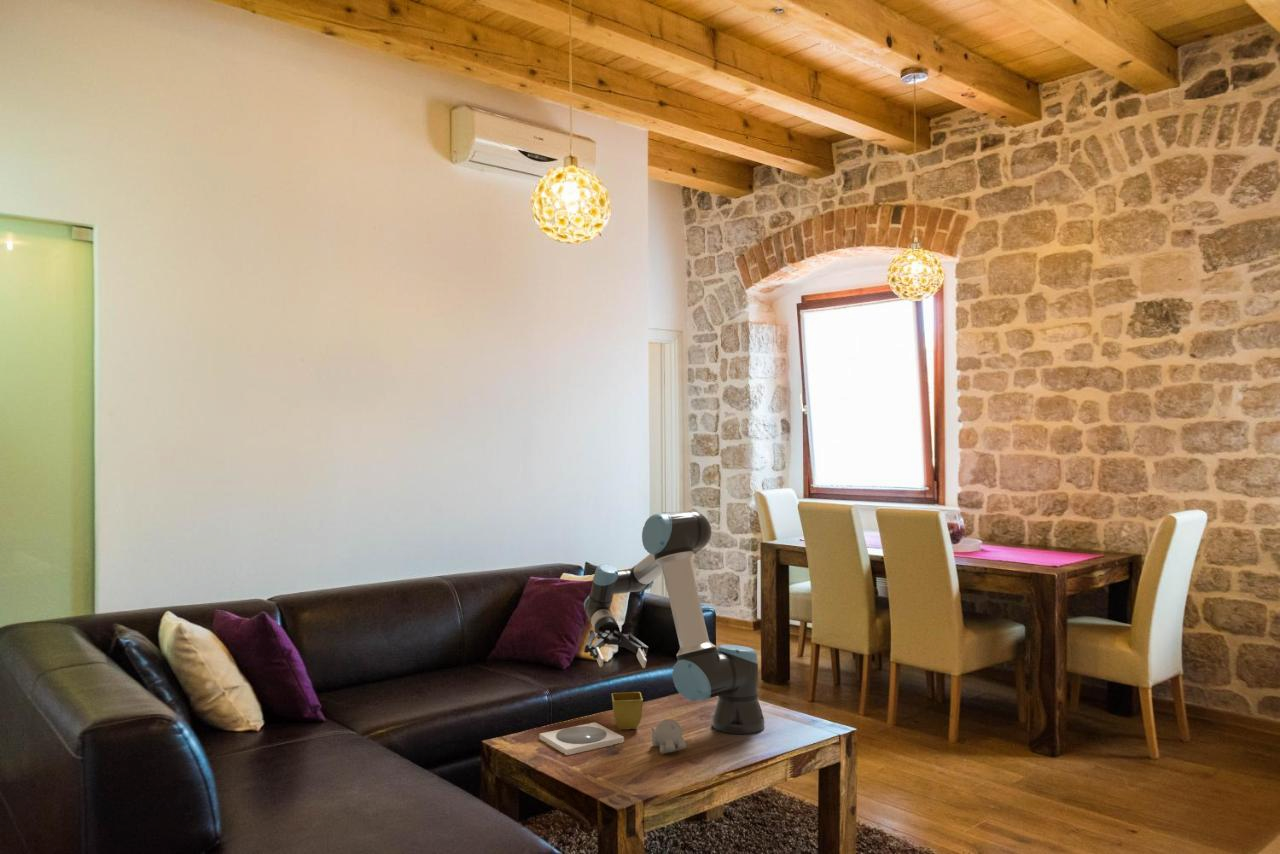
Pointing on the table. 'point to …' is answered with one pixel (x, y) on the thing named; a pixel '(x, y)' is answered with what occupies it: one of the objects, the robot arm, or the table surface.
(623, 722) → the flower pot
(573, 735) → the tile stand
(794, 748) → the table surface
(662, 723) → the hippopotamus figurine
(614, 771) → the table surface
